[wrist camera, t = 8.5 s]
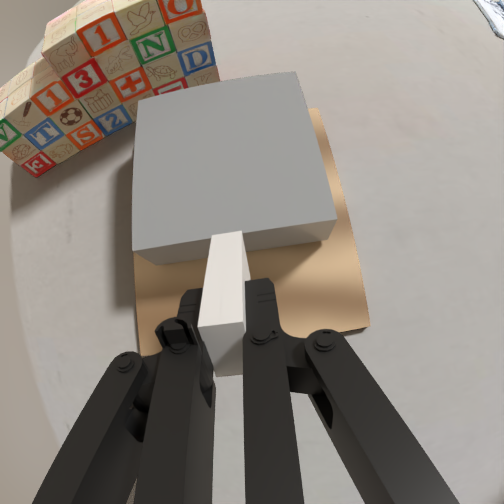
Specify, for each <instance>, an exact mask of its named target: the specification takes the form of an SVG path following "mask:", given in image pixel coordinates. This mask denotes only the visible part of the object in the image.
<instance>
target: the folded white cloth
mask: <svg viewBox="0 0 504 504" xmlns="http://www.w3.org/2000/svg"><path fill="white" fill-rule="evenodd" d="M473 1H474V2H475V3H476V5H477V6H478V7H479V9H480V10H481V11H482V13H483V14H484V16H485V17H486V18H487V20H488V21H489V24H490V26H491V27H492V29H493V32H495V33H496V34H497V35H498V37H501V38H503V39H504V2H503V1H502V0H500V1H499V2H493V1H491V0H473Z"/></svg>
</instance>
